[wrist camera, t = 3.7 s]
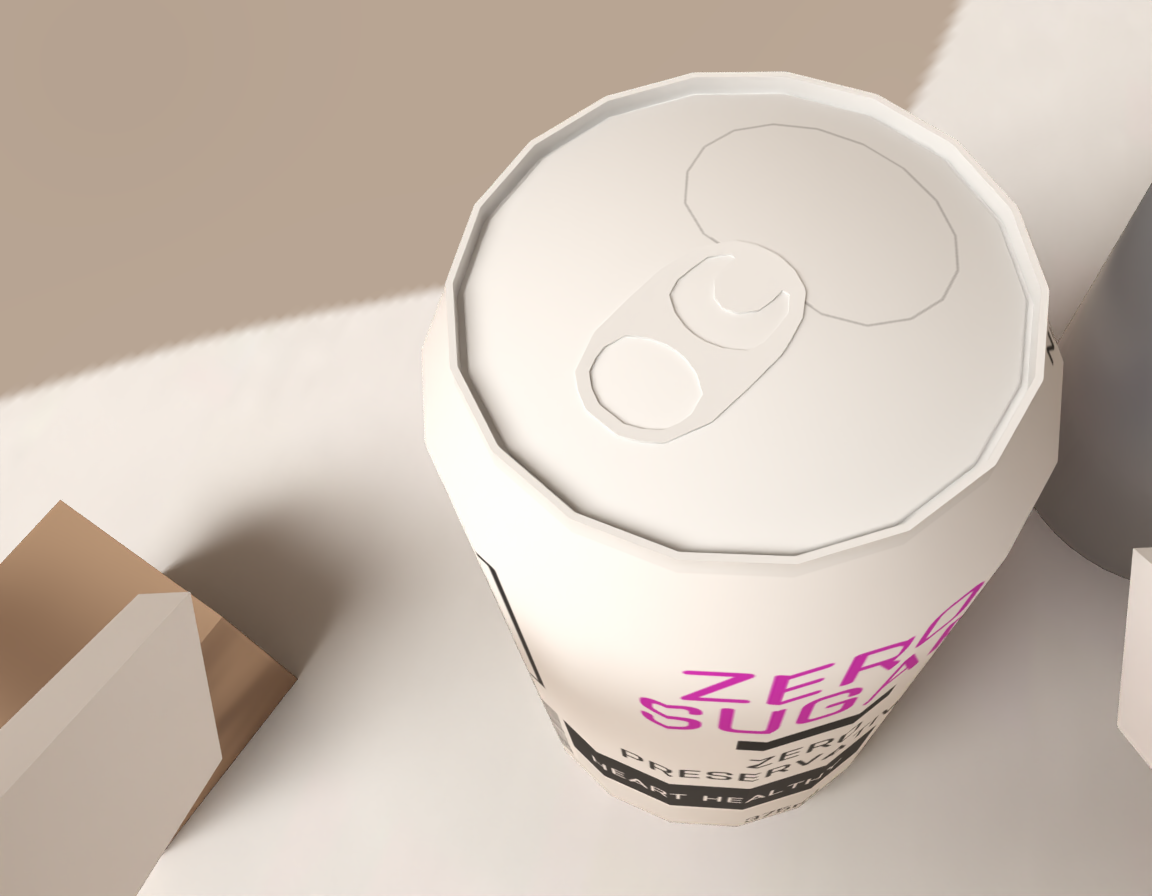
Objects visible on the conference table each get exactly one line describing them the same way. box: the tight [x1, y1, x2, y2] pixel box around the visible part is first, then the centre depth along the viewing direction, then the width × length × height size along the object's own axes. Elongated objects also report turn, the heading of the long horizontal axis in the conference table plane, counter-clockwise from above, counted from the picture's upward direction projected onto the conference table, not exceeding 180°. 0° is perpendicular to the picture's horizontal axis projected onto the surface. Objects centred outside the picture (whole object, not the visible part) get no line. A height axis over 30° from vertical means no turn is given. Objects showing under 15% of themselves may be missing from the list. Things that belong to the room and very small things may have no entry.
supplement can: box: [421, 72, 1064, 827], centre depth 19 cm, size 8×8×15 cm
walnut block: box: [0, 500, 297, 845], centre depth 24 cm, size 5×5×5 cm
